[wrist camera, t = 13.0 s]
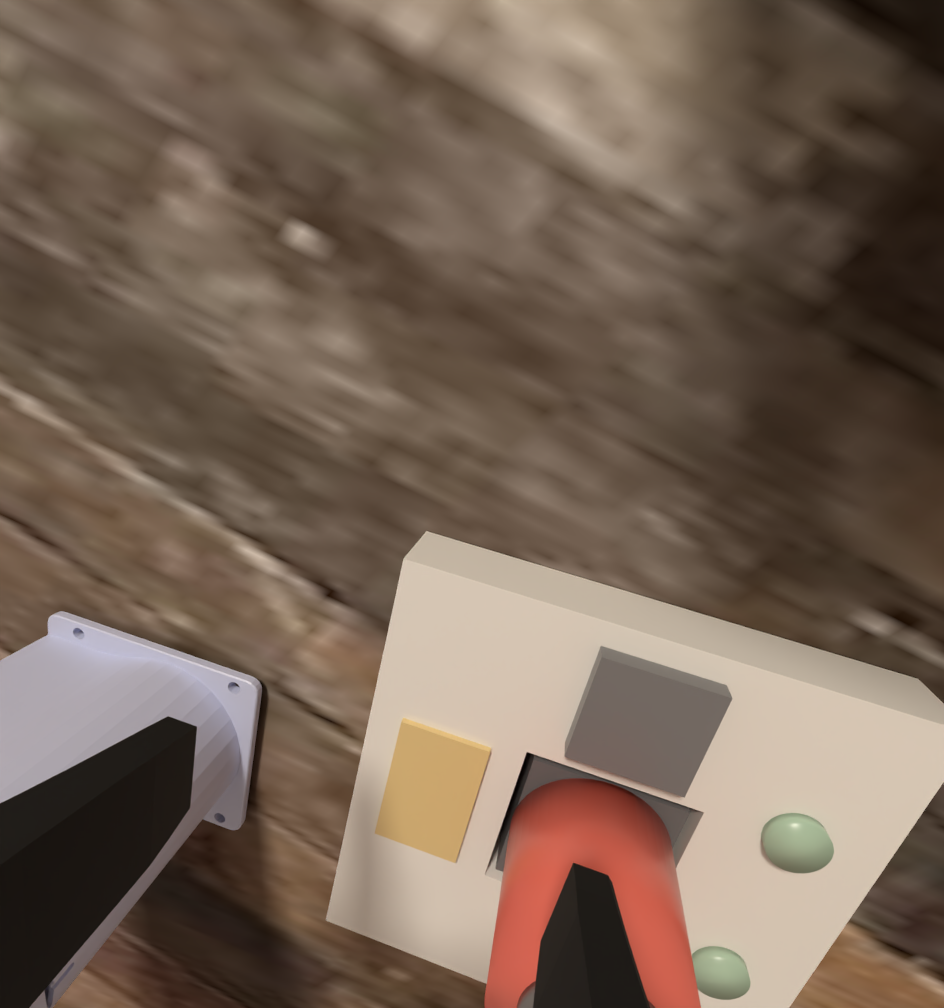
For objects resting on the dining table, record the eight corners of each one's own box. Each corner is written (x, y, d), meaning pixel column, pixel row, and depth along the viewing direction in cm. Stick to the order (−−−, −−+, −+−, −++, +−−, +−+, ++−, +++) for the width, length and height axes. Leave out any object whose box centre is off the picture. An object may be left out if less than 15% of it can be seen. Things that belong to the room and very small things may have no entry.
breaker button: (504, 812, 21) (495, 869, 18) (538, 711, 19) (533, 759, 17) (629, 857, 20) (636, 921, 18) (676, 756, 19) (689, 813, 16)
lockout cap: (493, 869, 18) (461, 1062, 14) (533, 756, 17) (513, 928, 12) (639, 924, 18) (662, 1148, 13) (696, 813, 16) (747, 1019, 11)
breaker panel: (351, 862, 23) (318, 936, 20) (426, 531, 18) (396, 566, 15) (719, 1001, 21) (742, 1105, 18) (918, 678, 16) (992, 751, 13)
